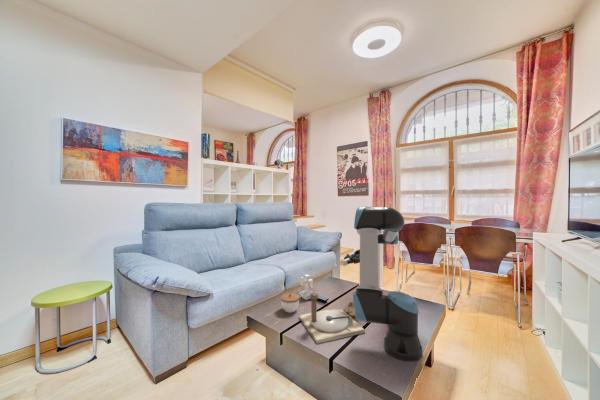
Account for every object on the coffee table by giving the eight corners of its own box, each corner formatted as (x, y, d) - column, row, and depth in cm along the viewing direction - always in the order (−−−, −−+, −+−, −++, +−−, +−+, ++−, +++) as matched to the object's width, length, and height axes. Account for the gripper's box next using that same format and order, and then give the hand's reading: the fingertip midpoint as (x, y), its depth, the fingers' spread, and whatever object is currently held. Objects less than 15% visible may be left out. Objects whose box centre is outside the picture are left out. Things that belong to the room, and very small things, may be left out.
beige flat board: (364, 332, 115) (364, 329, 115) (317, 343, 107) (317, 339, 107) (340, 310, 138) (340, 307, 138) (299, 317, 129) (299, 314, 129)
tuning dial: (342, 310, 134) (342, 284, 133) (357, 329, 115) (357, 299, 115) (306, 314, 130) (306, 287, 129) (315, 334, 111) (315, 302, 111)
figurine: (316, 298, 154) (316, 275, 154) (304, 301, 149) (304, 277, 149) (309, 294, 160) (309, 272, 160) (297, 297, 155) (297, 274, 155)
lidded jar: (292, 316, 131) (292, 299, 131) (277, 311, 137) (277, 295, 136) (302, 308, 140) (302, 292, 140) (287, 304, 146) (287, 289, 145)
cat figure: (353, 323, 127) (391, 311, 135) (352, 307, 126) (390, 296, 135) (344, 314, 136) (380, 303, 145) (342, 299, 136) (379, 289, 144)
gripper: (371, 262, 147) (354, 272, 128) (352, 259, 155) (333, 267, 137) (371, 250, 147) (354, 258, 128) (352, 247, 155) (333, 254, 137)
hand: (343, 263), depth 133 cm, fingers closed
